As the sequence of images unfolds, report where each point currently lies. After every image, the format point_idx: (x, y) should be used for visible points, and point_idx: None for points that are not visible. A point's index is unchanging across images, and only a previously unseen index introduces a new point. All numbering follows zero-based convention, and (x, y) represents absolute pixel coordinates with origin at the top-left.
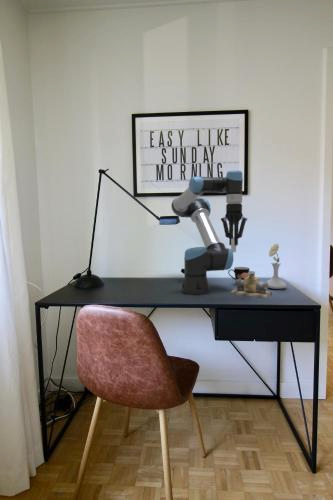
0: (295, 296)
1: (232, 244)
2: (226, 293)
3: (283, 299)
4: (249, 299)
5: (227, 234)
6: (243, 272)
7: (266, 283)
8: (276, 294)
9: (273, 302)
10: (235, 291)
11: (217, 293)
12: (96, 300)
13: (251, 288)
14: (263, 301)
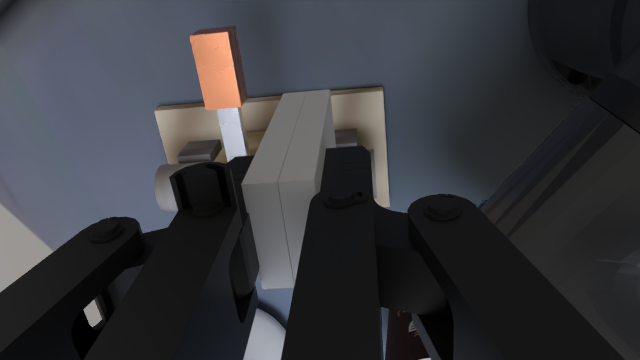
0: (74, 230)
1: (294, 134)
2: (410, 74)
3: (79, 137)
4: (216, 18)
5: (427, 238)
6: (404, 348)
7: (155, 183)
8: (165, 218)
9: (77, 39)
10: (356, 105)
11: (464, 37)
12: None
13: (252, 139)
14: (129, 25)
